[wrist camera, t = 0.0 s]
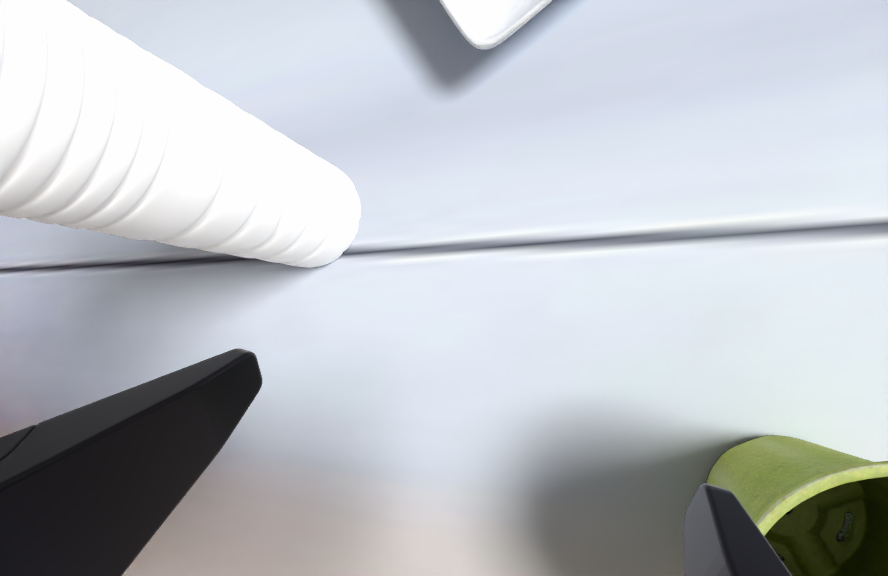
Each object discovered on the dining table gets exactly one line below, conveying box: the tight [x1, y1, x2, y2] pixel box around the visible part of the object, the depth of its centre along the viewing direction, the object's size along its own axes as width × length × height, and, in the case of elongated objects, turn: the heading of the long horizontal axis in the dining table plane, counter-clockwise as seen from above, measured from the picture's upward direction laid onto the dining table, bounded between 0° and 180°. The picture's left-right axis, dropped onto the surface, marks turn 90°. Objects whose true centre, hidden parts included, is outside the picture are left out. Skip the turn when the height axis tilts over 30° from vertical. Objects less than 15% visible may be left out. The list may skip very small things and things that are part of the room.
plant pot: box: [707, 436, 888, 576], centre depth 15 cm, size 9×9×9 cm
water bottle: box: [0, 0, 361, 268], centre depth 14 cm, size 9×6×25 cm
